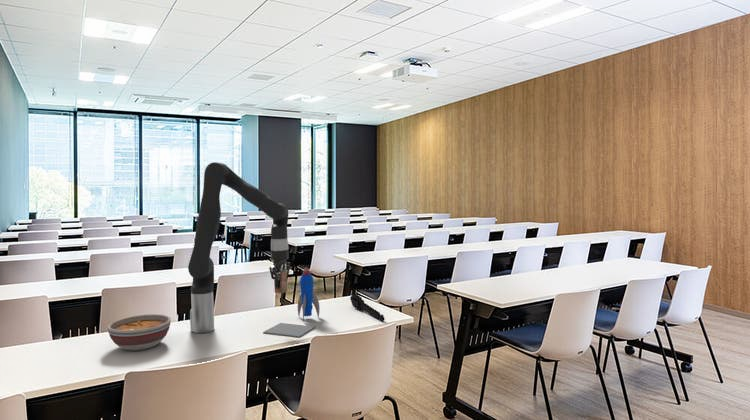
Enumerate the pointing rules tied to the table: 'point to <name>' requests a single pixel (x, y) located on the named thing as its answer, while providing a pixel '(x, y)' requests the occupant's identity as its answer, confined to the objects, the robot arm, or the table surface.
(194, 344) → the table surface
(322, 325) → the table surface
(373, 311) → the black long tapered piece
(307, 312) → the toy rocket
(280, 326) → the rubber mat
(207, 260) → the robot arm
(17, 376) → the table surface
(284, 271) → the walnut block
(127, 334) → the bowl
